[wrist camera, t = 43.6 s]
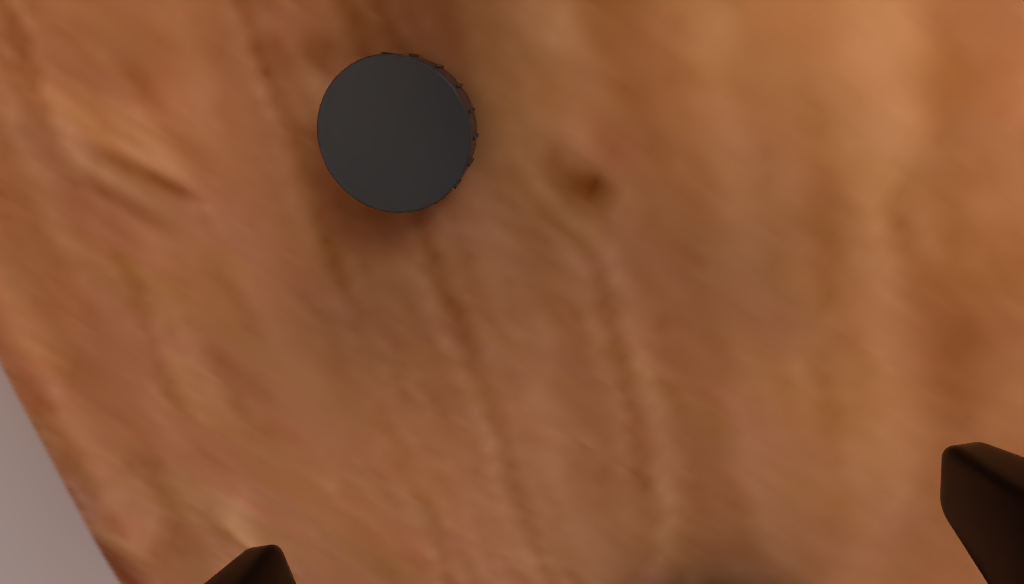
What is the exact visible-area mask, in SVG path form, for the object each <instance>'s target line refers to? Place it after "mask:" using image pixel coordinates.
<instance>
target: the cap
mask: <svg viewBox="0 0 1024 584" xmlns="http://www.w3.org/2000/svg"><path fill="white" fill-rule="evenodd" d="M443 67H444V66H442V65H437V64H435V63H433V62H431V61H428V60H425V59H423V58H419V55H416V54H409V55H401V54H393V53H386V52H381V54H378V55H373V56H368V57H366V58H363V59H360V60H358V61H356V62H354V63H353V64H351V65H349V66H348V67H347V68H345V69H344V70H343V71H341V72H340V73H339V74H338V75H337V76H336V77H335V79H334V80H333V81H332V83H331V84H330V85H329V87H328V89H327V91H326V92H325V94H324V96H323V99H322V102H321V104H320V108H319V113H318V120H317V136H318V142H319V148H320V151H321V154H322V157H323V160H324V162H325V164H326V166H327V168H328V170H329V172H330V173H331V175H332V176H333V178H334V179H335V180H336V182H337V183H338V184H339V185H340V186H341V187H342V188H343V189H344V190H345V191H346V192H347V193H348V194H349V195H351V196H352V197H353V198H355V199H356V200H358V201H359V202H361V203H363V204H365V205H367V206H369V207H372V208H375V209H378V210H381V211H386V212H395V213H404V212H412V211H418V210H421V209H424V208H427V207H429V206H431V205H433V204H436V203H437V202H438V201H439V200H441V199H442V198H444V197H445V196H446V195H447V194H448V193H449V192H450V191H451V190H452V189H453V188H456V187H457V186H458V184H459V183H460V181H461V179H460V178H461V177H462V176H463V174H464V172H465V171H466V169H467V168H468V167H469V166H470V165H471V163H472V162H473V160H474V158H472V157H473V153H474V150H475V145H476V138H477V137H478V133H477V130H476V120H475V115H474V110H475V108H472V105H471V103H470V100H469V98H468V96H467V94H466V93H465V91H464V90H463V88H462V86H463V85H462V84H459V83H458V82H457V81H456V79H455V78H454V77H453V76H452V75H450V74H449V73H448V72H447V71H446V70H444V69H443Z"/></svg>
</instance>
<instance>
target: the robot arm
mask: <svg viewBox="0 0 1024 584" xmlns="http://www.w3.org/2000/svg"><path fill="white" fill-rule="evenodd" d="M940 501H941V506H942V509H943V512H944V514H945V517H946V518H947V520H948V522H949V523H950V525H951V526H952V528H953V530H954V531H955V533H956V534H957V536H958V537H959V539H960V541H961V542H962V544H963V545H964V547H965V548H966V550H967V552H968V553H969V555H970V556H971V558H972V559H973V561H974V562H975V564H976V566H977V567H978V569H979V570H980V572H981V573H982V575H983V577H984V578H985V580H986V581H987V583H988V584H1024V457H1021V456H1018V455H1016V454H1013V453H1010V452H1007V451H1005V450H1002V449H999V448H996V447H994V446H991V445H988V444H985V443H981V442H974V443H967V444H960V445H953V446H949V447H947V448H946V449H945V450H944V452H943V454H942V463H941V489H940ZM204 584H296V582H295V580H294V578H293V575H292V573H291V570H290V568H289V566H288V563H287V561H286V558H285V556H284V554H283V552H282V550H281V549H280V548H279V547H278V546H277V545H266V546H259V547H253V548H249V549H247V550H245V551H244V552H243V553H242V554H240V555H239V556H238V557H237V558H235V559H234V560H233V561H232V562H230V563H229V564H228V565H227V566H225V567H224V568H223V569H222V570H221V571H219V572H218V573H217V574H216V575H214V576H213V577H212V578H211V579H209V580H208V581H207V582H206V583H204Z"/></svg>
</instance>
